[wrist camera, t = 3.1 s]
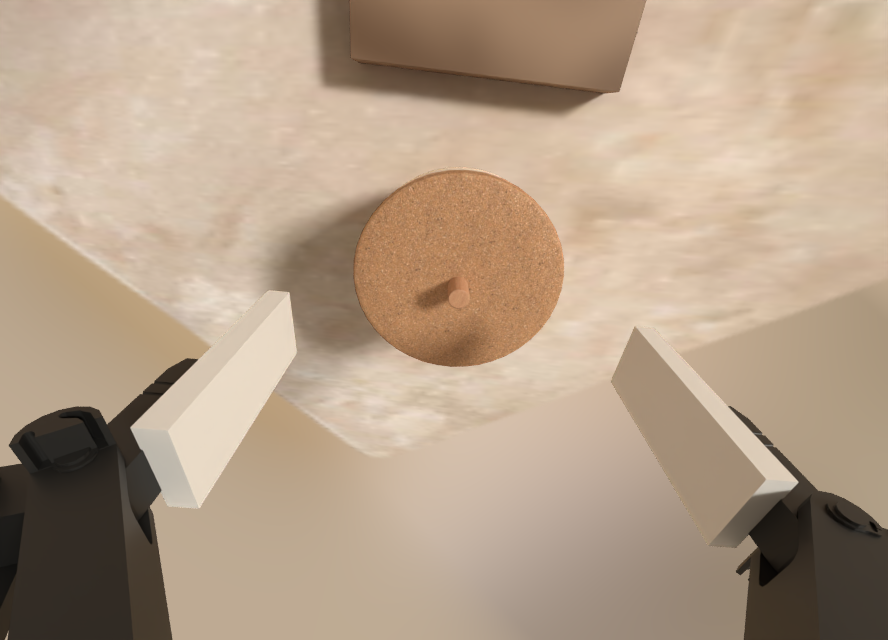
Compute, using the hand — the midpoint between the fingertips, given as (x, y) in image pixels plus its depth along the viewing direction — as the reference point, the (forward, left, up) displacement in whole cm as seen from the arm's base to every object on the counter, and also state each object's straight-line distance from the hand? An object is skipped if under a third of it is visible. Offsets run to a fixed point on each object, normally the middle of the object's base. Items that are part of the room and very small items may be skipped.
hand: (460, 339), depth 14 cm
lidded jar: (0, 0, -13) cm, 13 cm away
